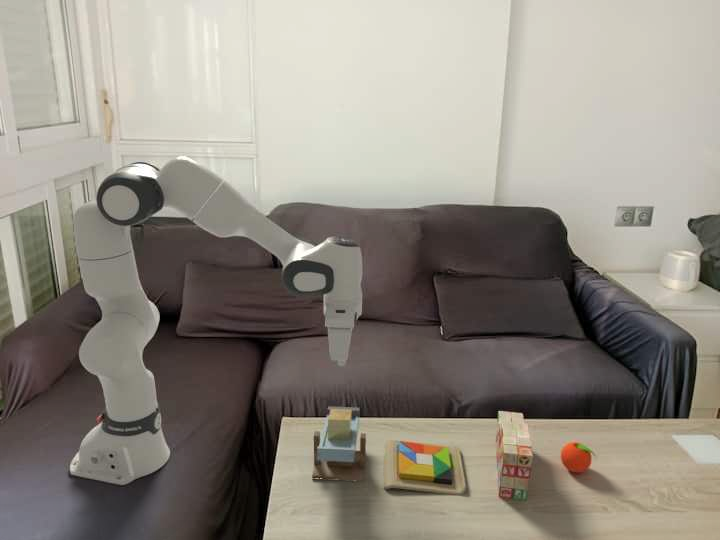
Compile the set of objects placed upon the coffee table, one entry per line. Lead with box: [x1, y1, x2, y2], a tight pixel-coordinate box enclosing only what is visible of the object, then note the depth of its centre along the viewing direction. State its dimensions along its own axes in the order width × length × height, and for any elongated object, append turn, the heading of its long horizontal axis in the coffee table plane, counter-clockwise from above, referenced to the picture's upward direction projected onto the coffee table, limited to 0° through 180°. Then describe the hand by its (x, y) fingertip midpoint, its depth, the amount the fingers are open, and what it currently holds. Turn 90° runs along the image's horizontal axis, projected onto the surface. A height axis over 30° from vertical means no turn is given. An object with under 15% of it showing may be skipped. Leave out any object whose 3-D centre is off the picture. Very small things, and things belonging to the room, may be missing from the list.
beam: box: [317, 405, 360, 462], centre depth 134 cm, size 22×8×3 cm, turn 177°
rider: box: [328, 409, 352, 441], centre depth 133 cm, size 6×5×5 cm
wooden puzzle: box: [382, 439, 467, 496], centre depth 137 cm, size 18×19×4 cm
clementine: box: [560, 441, 597, 473], centre depth 136 cm, size 8×7×7 cm
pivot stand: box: [311, 430, 367, 482], centre depth 136 cm, size 10×12×9 cm
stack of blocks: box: [495, 410, 534, 501], centre depth 135 cm, size 21×6×12 cm, turn 169°
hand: (342, 359), depth 135 cm, fingers open, 4 cm apart
